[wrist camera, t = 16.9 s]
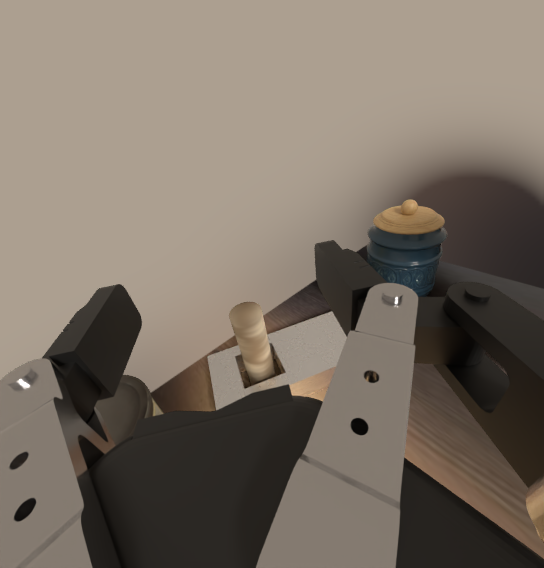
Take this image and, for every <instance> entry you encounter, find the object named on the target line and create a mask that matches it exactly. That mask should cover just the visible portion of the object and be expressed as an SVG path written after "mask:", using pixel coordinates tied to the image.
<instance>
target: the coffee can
mask: <svg viewBox="0 0 544 568" xmlns="http://www.w3.org/2000/svg"><path fill="white" fill-rule="evenodd" d="M95 407H96V408H97V409H98V410H99V412H100V414H101V416H102V418H103V420H104V422H105V424H106V427H107V429H108V431H109V433H110V435H111V437H112V439H113V441H114V443H115V446H116V445H117V444H119V443H120V442H122V441H123V440H125V439H127V438H128V437H130V436H132V435H133V434H134V431H135V427H136V424H137V420H139V419H143V418H148V417H152V416H156V415H160V414H164V413H163V411H162V410H161V408H160V407H159V406H158V404H157V403H156V402H155V400H154V399H153V397H152V396H151V393H150V391H149V389H148V388H147V386H146V385H145V383H143V382H142V381H141V380H140V379H138V378H136V377H133V376H129V375H122V378H121V380H120V383H119V385H118V388H117V390H116V393H115V395H114V397H111V398H107V399H103V400H98V401H97V403H96V405H95Z"/></svg>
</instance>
